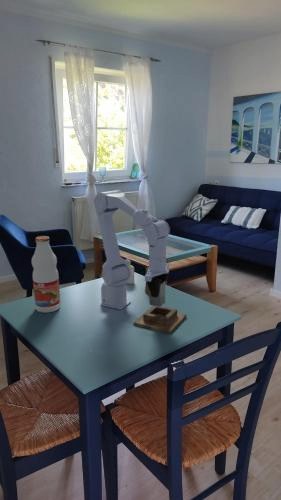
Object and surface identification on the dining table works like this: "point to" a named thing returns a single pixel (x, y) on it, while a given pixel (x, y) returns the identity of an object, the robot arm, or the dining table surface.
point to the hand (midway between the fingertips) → (157, 294)
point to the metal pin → (159, 296)
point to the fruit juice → (45, 277)
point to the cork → (147, 284)
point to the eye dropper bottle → (131, 279)
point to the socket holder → (160, 319)
